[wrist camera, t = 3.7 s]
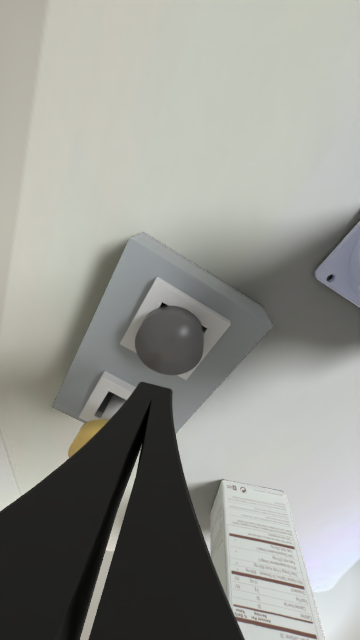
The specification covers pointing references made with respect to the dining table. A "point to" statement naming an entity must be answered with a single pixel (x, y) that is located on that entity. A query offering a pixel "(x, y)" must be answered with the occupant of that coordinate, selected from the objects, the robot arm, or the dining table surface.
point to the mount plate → (128, 315)
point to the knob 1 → (95, 425)
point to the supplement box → (262, 564)
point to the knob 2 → (170, 340)
